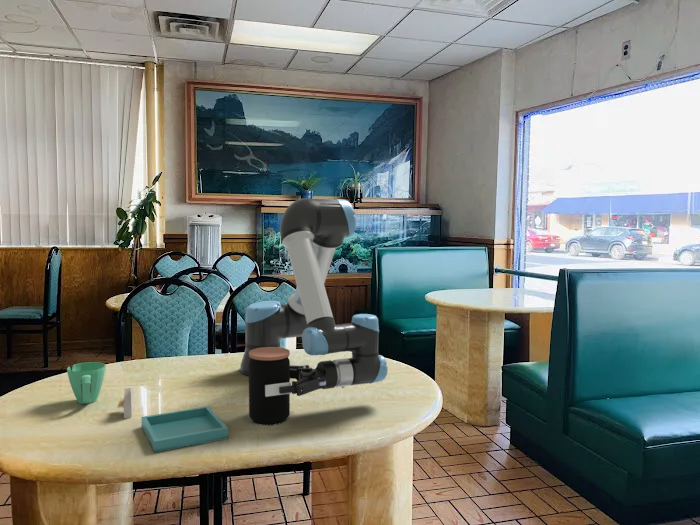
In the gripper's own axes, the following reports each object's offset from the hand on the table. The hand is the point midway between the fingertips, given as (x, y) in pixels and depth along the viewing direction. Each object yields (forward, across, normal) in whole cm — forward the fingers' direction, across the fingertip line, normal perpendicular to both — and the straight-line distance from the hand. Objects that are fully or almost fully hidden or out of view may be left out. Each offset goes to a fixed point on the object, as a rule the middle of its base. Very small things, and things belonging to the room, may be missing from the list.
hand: (258, 383), depth 146 cm
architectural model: (+31, +17, -11) cm, 37 cm away
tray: (+19, -1, -10) cm, 21 cm away
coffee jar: (-3, 0, -10) cm, 11 cm away
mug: (+41, +30, -10) cm, 52 cm away
